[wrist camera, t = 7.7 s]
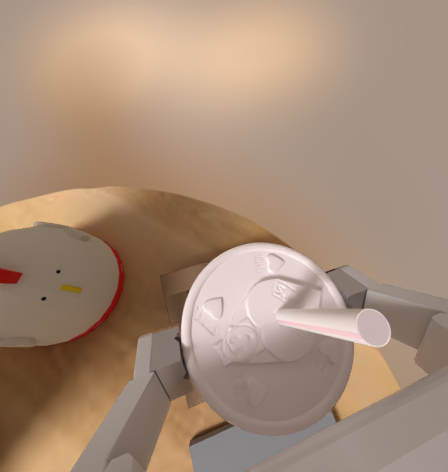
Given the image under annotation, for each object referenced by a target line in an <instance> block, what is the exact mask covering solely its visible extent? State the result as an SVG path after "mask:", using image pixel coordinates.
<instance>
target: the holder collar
mask: <svg viewBox="0 0 448 472" xmlns="http://www.w3.org/2000/svg"><path fill="white" fill-rule="evenodd" d="M211 261H212V260H211ZM211 261H208V262H204V263H201V264H198V265H194V266H191V267H188V268H184V269H181V270H178V271H174V272H171V273H168V274H164V275H161V276H160V278H161V283H162V288H163V292H164V297H165V302H166V306H167V311H168V316H169V320H170V325H171V326H172V325H175V324H179V325H180V327H181V322H182V315H183V309H184V305H185V302H186V299H187V296H188V294H189V291H190V289H191V287H192V285H193V283H194V282H195V280H196V278H197V277H198V275H199V274H200V273H201V272H202V270H203V269H204V268H205V267H206V266H207V265H208V264H209V263H210V262H211ZM192 383H193V381H192ZM185 395H186V399H187V404H188V408H191V407H193V406H195V405H198V404H200V403H202V402H205V400H204V399H203V398H202V396H201V395H200V394H199V392H198V390H197V389H196V387H195V385H194V383H193V391H192V392H189V393H187V394H185Z"/></svg>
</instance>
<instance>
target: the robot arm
mask: <svg viewBox="0 0 448 472" xmlns="http://www.w3.org/2000/svg"><path fill="white" fill-rule="evenodd" d="M325 273H326V274H327V275H328V276H329V277H330V278H331V280H332V281H333V282H334V284H335V285H336V287H337V288H338V290H339V292H340V294H341V296H342V297H343V300H344V302H345V304H346V307H347V309H374V310H376V311H378V312H380V313H381V314H382V315H383V316H384V317H385V318H386V320H387V321H388V323H389V325H390V329H391V337H392V338H394V339H396V340H398V341H400V342H402V343H404V344H407V345H409V346H411V347H413V348H415V349H417V350H418V351H417V354H416V356H415V358H414V359H415V363H416V364H417V365H418V366H419V367H421V368H422V369H423V370H424V371H425V372H427V373H428V374H429V375H428V376H426V377H424V378H422V379H420V380H418V381H416V382H414V383H412V384H411V385H408V386H407V387H405V388H403V389H401V390H399V391H397V392H395V393H393V394H391V395H389V396H387V397H385V398H383V399H381V400H379V401H378V402H376V403H374V404H372V405H370V406H368V407H366V408H364V409H362V410H360V411H358V412H356V413H354V414H352V415H350V416H348V417H347V418H345V419H343V420H341V421H339V422H337V423H335V424H333V425H331V426H329V427H327V428H325V429H323V430H321V431H319V432H318V433H316V434H314V435H312V436H310V437H308V438H306V439H304V440H302V441H300V442H298V443H296V444H294V445H292V446H290V447H289V448H287V449H285V450H283V451H281V452H279V453H277V454H275V455H273V456H271V457H269V458H267V459H265V460H263V461H261V462H260V463H258V464H256V465H254V466H252V467H250V468H248V469H246V470H244V471H242V472H448V299H445V298H441V297H436V296H432V295H428V294H424V293H420V292H416V291H411V290H407V289H403V288H399V287H395V286H390V285H386V284H381V285H380V284H378V283H376V282H375V281H373V280H372V279H370V278H368V277H367V276H365V275H364V274H362V273H360V272H359V271H357V270H355V269H354V268H352V267H350V266H348V265H344V266H341V267H338V268H336V269H333V270H330V271H327V272H325ZM192 391H193V383H192V379H191V377H190V375H189V372H188V369H187V367H186V363H185V360H184V356H183V350H182V342H181V327H180V325H179V324H175V325H172V326H169V327H166V328H163V329H160V330H156V331H153V332H151V333H148V334H145V335H142V336H140V338H139V340H138V346H137V353H136V361H135V369H134V376H133V380H130V381H128V383H127V385H126V386H125V388H124V389H123V391H122V392H121V394H120V395H119V397H118V399H117V400H116V402H115V403H114V405H113V406H112V408H111V409H110V411H109V413H108V414H107V416H106V417H105V419H104V420H103V422H102V423H101V425H100V426H99V428H98V430H97V431H96V433H95V434H94V436H93V437H92V439H91V440H90V442H89V444H88V445H87V447H86V448H85V450H84V451H83V453H82V454H81V456H80V457H79V459H78V461H77V462H76V464H75V465H74V467H73V468H72V470H71V471H70V472H146V470H147V467H148V465H149V462H150V459H151V456H152V454H153V451H154V448H155V445H156V443H157V440H158V437H159V434H160V432H161V429H162V426H163V423H164V421H165V418H166V415H167V412H168V410H169V407H170V404H171V402H170V401H172V400H174V399H176V398H178V397H181V396H183V395H185V394H187V393H189V392H192Z"/></svg>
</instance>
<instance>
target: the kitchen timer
mask: <svg viewBox="0 0 448 472" xmlns="http://www.w3.org/2000/svg"><path fill="white" fill-rule="evenodd" d="M123 282H124V271H123V266H122V261H121V260H120V258H119V256H118V254H117V253H116V251H115V250H114V249H113V248H112V247H110V246H109V245H108V244H107V243H106V242H104V241H103V240H101V239H99V238H97V237H94V236H92V235H90V234H88V233H87V232H84V231H81V230H78V229H75V228H72V227H69V226H65V225H59V224H53V223H46V222H34V223H33V227H31V228H24V229H17V230H10V231H6V232H3V233H0V347H33V346H48V345H53V344H57V343H62V342H67V341H71V340H76V339H78V338H80V337H81V336H83V335H85V334H87V333H89V332H91V331H93V330H94V329H95V328H96V327H97V326H99V325H100V324H101V323H102V322H103V321H104V320H106V319H107V317H108V316H109V314H110V313H111V312H112V310H113V309H114V308H115V306H116V305H117V302H118V300H119V297H120V295H121V292H122V290H123Z"/></svg>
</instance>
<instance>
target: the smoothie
mask: <svg viewBox="0 0 448 472" xmlns="http://www.w3.org/2000/svg"><path fill="white" fill-rule="evenodd" d="M390 337H391V329H390V325H389V323H388V321H387V320H386V318H385V317H384V316H383V315H382V314H381V313H380V312H378V311H376V310H374V309H347V307H346V304H345V302H344V300H343V297H342V296H341V294H340V292H339V290H338V288H337V287H336V285H335V284H334V282H333V281H332V280H331V278H330V277H329V276H328V275H327V274H326V273H325V271H323V269H322V268H321V267H319V266H318V265H317V264H316V263H315V262H314V261H312V260H311V259H310V258H308V257H307V256H305V255H304V254H302V253H300V252H298V251H296V250H294V249H291V248H289V247H286V246H283V245H278V244H273V243H249V244H244V245H240V246H237V247H234V248H232V249H230V250H227V251H226V252H224V253H222V254H220V255H219V256H218V257H216V258H215V259H213V260H212V261H211V262H210V263H209V264H208V265H207V266H206V267H205V268H204V269H203V270H202V272H201V273H200V274H199V275H198V277H197V278H196V280H195V282H194V283H193V285H192V287H191V289H190V291H189V294H188V296H187V299H186V302H185V305H184V309H183V315H182V322H181V342H182V350H183V356H184V360H185V363H186V367H187V369H188V372H189V375H190V377H191V379H192V381H193V383H194V385H195V387H196V389H197V390H198V392H199V394H200V395H201V396H202V398H203V399H204V400H205V402H206V403H207V404H208V405H209V406H210V407H211V408H212V409H213V410H214V411H215V412H216V413H217V414H218V415H219V416H220V417H222V418H223V419H224V420H226V421H227V422H229V423H230V424H232V425H234V426H236V427H238V428H240V429H242V430H245V431H247V432H250V433H254V434H258V435H264V436H283V435H289V434H293V433H297V432H300V431H302V430H305V429H307V428H309V427H311V426H312V425H314V424H316V423H317V422H318V421H320V420H321V419H322V418H323V417H325V416H326V415H327V414H328V413H329V412H330V411H331V409H332V408H333V407H334V406H335V405H336V403H337V402H338V400H339V399H340V397H341V395H342V393H343V391H344V390H345V387H346V385H347V382H348V380H349V376H350V373H351V369H352V364H353V356H354V342H356V343H360V344H365V345H369V346H373V347H382V346H384V345H386V344H387V343H388V341H389V339H390Z"/></svg>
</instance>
